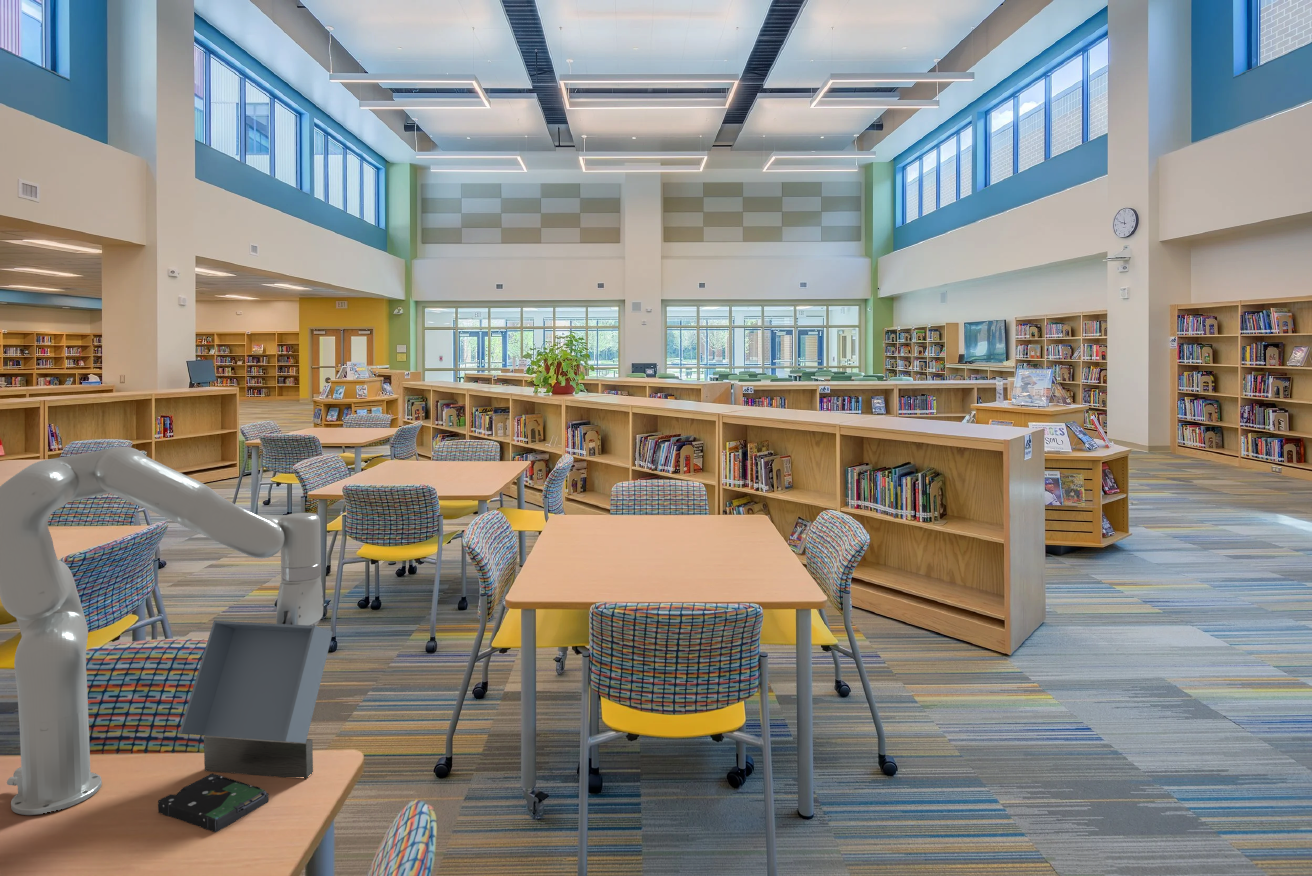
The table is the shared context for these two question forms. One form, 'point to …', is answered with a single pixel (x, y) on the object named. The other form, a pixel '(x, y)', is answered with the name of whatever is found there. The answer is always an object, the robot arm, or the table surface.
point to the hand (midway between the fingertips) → (302, 658)
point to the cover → (258, 681)
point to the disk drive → (213, 802)
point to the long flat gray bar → (258, 756)
